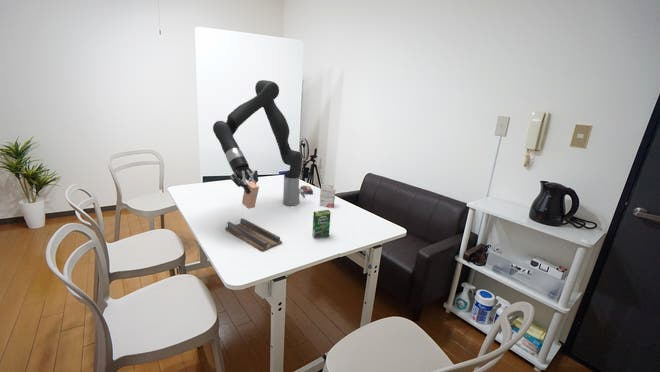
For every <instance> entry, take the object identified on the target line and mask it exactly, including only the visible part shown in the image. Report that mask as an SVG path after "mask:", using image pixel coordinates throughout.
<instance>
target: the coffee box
mask: <svg viewBox="0 0 660 372" xmlns="http://www.w3.org/2000/svg"><path fill="white" fill-rule="evenodd" d="M312 217H313V218H312V237H313V238H314V239H319V238H323V237H324V238H325V237H329V236H330V225H331V210H329V209H324V210H315V211H313V215H312Z"/></svg>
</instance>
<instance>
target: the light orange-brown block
mask: <svg viewBox="0 0 660 372" xmlns="http://www.w3.org/2000/svg"><path fill="white" fill-rule="evenodd" d="M246 183H247V184H246V185H248V187H249V189H250V191H251V192H250V193H249V194H247V193H246V192H245V190H244V189H243V195H242V201H241V204H242V205H243V206H245V207H246V209H248V210H250V209H253V208H256V204H257V197H258V194H259V190H260V186H259V185H257V183H256V184H255V183H254V182H253V181H251V182H248V181H246Z"/></svg>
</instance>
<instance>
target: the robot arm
mask: <svg viewBox="0 0 660 372" xmlns="http://www.w3.org/2000/svg"><path fill="white" fill-rule="evenodd" d="M254 90H255V94H256V95H255V96H254V97H252V98H250V99H249V100H247V101H246V102H243V103H242V104H240V105H238V106H237V107H236V108H235V109H233V110H232V111H231V112H230V113H229V114H228V115H227V118H226V122H225V121H224V120H218V121H217V120H216V121H215V123H214V124H213V126H212V130H213V133H214V135H215V137H216V139H217V140H218V142H219V143H220V146H221V149H222V151H223V153H224V155H225V158H226V160H227V163H228V164H229V167H230V169H231V170H232V172H233V173H232V174H231V175H230V177H229V178H230V180H231V181H232V182H233V183H234V184H235V185H236V186H237V187H238V188H240V187H241V188H243V191H244V190H245V192H246V193H247V194H249V193H250V192H251V191H250V189H249V187H248V185H246V184H247V183H246V182H251V181H253V182H254V183H255V184H256V185H257V182H259V175H258V174H259V173H258V170H257V169H256V170H252V169H251V168H250V166H249V165H250V164H249V163H248V161H247V158H246V157H245V155H244V153H243V152H242V150H241V149H240V146H239V145H238V142H237V141H236V139H235V138H234V135H235V133H236V132H237V131H238V128H239V127H240V126H242V124H244V123H245V122H246V121H247V120H248V119H249V118H250V117H251V116H252V115H254V114H255V113H256V112H258V111H259V110H260V109H262V108H263V110H264V112H265V115H266V117H267V120H268V122H269V125H270V127H271V128H270V129H271V131H272V134H273V135H274V138H275V142H276V143H277V147H278V149H279V153H280V158H281V159H282V160H281V161H282V162H283V163H284V164H285V165H287V166H289V170H286V171H284V172H283V196H282V204H283V205H285V206H287V207H291V206H294V207H295V206H298V204H300V195H301V194H300V190H301V189H300V175H301V173H302V172H301V171H302V165H303V164H302V163H303V155H302V152H300V151H297V150H293V149H292V147H291V145H290V143H289V135H290V127H289V124H288V121H287V119H286V117H285V116H284V114H283V113H282V111H281V110H280V109H279V107H278V106H277V104H276V102H275V99H277V97H279V95H280V88H279V84H277V83H276V82H275V81H271V80H264V79H261V80H258V81H257V82H256V83H255V88H254Z"/></svg>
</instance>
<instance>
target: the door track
mask: <svg viewBox="0 0 660 372" xmlns="http://www.w3.org/2000/svg"><path fill="white" fill-rule="evenodd" d="M239 221H240V223H237V224H235V223H233V222H231V221H228V222H227V223H226V224H227V225H226V226H227V227H225V228H224V230H225V231H226V232H228V233H229V234H230V235H231V234H232V235H233V236H235V237H236V238H238V239H240V240H242V241H244V243H247V244H248V245H251V246H252V247H254V248H255V249H256V250H258V251H260V252H265V251H267V250H269V249H272V248H275V247H277V246H279V245H281V244H283V241H282V240H281V237H280V236H279V235H276V234H275V233H272V232H271V231H269V230H267V229H265V228H263V227H261V226H259V225H257V224H255V223H253V222H251V221H249V220H247V219H245V218H243V217H241V218H240V219H239Z"/></svg>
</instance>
